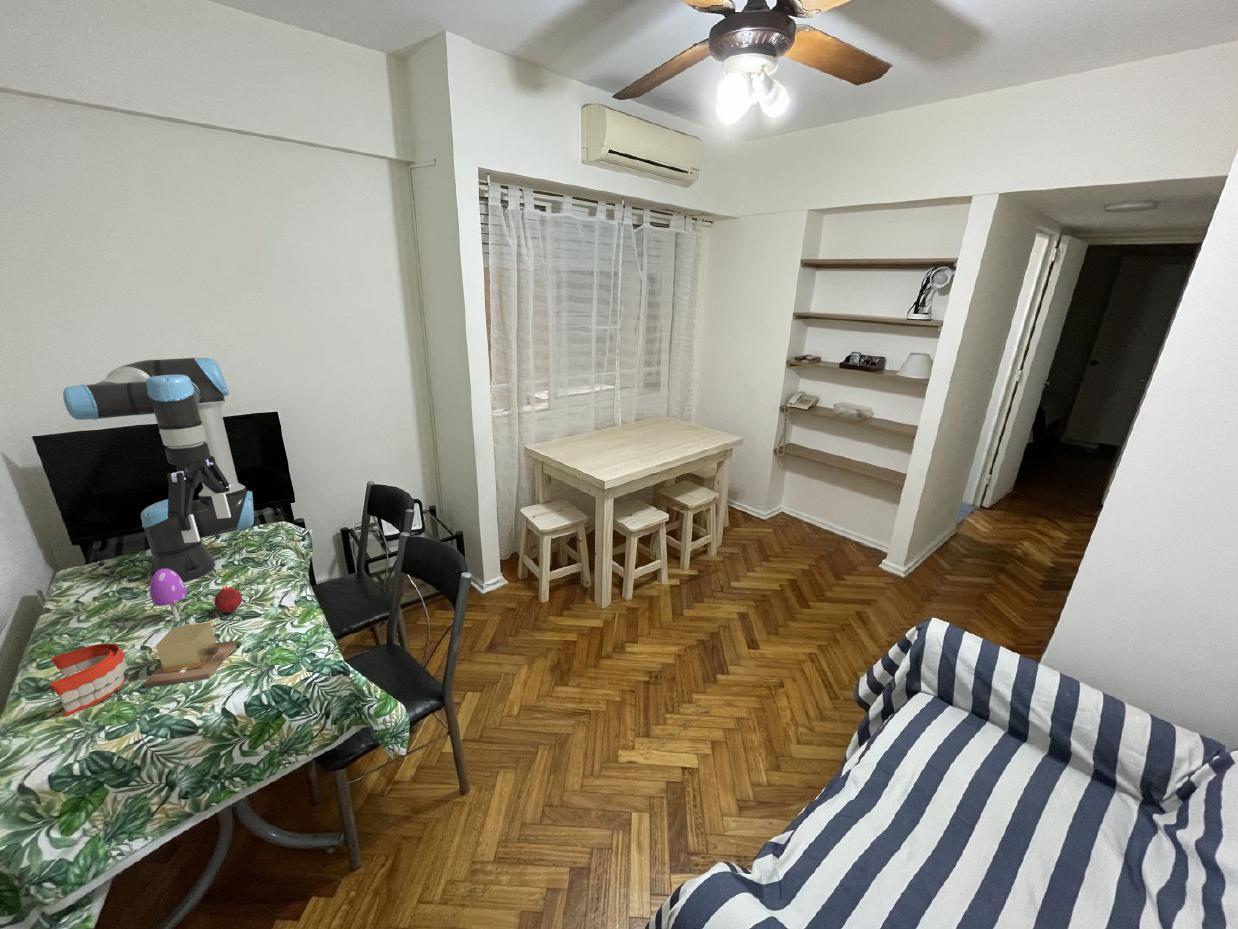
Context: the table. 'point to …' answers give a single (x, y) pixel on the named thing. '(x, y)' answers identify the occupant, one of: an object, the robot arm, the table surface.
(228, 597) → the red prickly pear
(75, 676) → the toy
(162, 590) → the toy
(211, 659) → the flat board
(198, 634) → the block with peg
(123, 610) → the table surface
